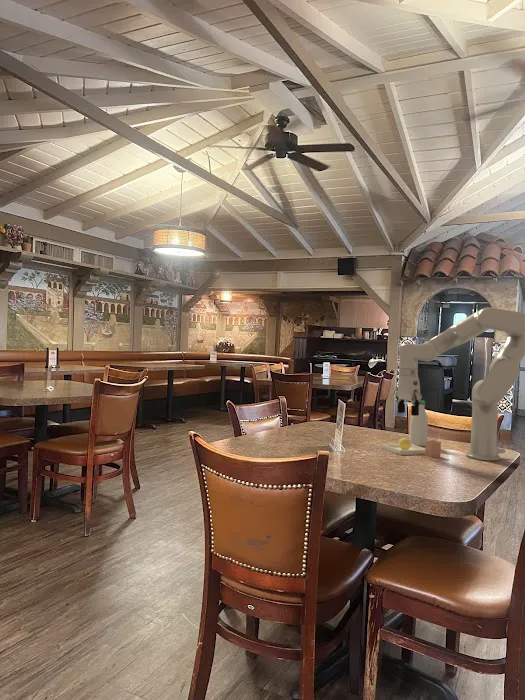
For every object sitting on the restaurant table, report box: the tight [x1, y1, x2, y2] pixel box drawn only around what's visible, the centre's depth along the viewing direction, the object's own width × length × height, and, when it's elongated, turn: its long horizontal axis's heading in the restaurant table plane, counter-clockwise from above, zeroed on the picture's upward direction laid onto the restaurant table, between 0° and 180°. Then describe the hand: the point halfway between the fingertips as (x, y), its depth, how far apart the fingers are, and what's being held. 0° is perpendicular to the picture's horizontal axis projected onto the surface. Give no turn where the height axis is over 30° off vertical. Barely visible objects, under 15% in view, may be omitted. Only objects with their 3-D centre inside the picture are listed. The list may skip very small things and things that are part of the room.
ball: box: [398, 437, 411, 450], centre depth 214 cm, size 5×5×5 cm
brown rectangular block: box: [424, 439, 442, 458], centre depth 206 cm, size 4×4×6 cm
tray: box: [380, 443, 425, 456], centre depth 214 cm, size 14×14×2 cm
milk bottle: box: [408, 400, 429, 447], centre depth 230 cm, size 8×8×20 cm
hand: (408, 414), depth 214 cm, fingers open, 9 cm apart
